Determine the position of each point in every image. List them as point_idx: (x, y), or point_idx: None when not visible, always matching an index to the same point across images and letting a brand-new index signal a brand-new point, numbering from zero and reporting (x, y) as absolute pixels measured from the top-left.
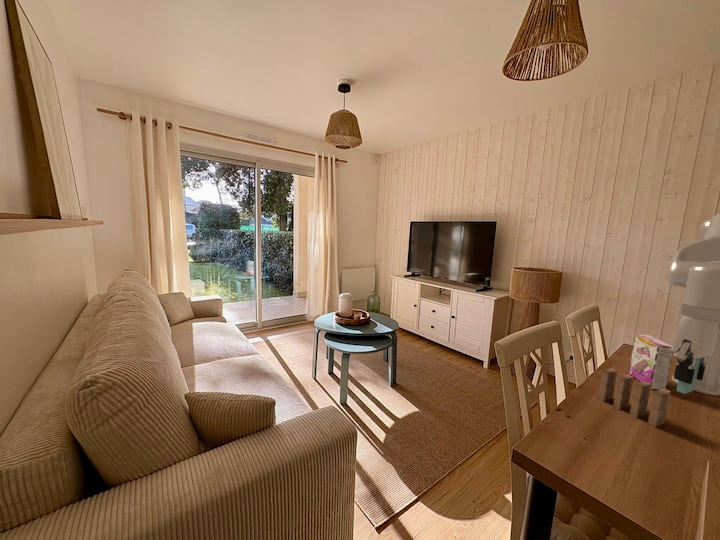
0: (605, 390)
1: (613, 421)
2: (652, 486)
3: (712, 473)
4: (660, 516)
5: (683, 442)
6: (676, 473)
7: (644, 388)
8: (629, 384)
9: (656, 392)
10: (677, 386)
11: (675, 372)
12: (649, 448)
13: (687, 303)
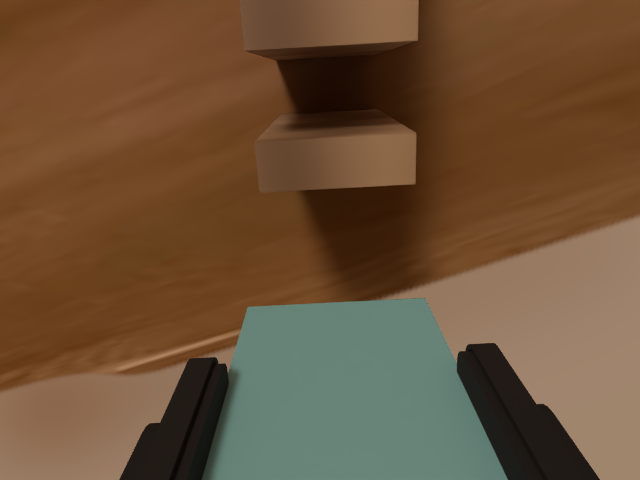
0: None
1: (103, 38)
2: None
3: (177, 363)
4: None
5: (284, 249)
6: (39, 328)
7: (295, 49)
8: None
9: (260, 156)
10: (243, 330)
11: (166, 414)
12: (78, 225)
13: None
